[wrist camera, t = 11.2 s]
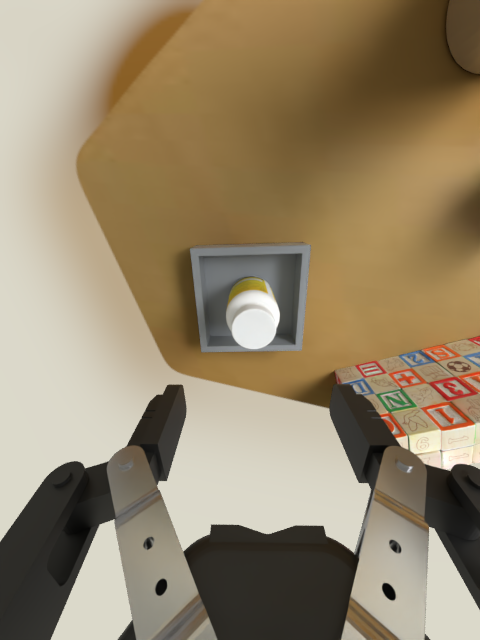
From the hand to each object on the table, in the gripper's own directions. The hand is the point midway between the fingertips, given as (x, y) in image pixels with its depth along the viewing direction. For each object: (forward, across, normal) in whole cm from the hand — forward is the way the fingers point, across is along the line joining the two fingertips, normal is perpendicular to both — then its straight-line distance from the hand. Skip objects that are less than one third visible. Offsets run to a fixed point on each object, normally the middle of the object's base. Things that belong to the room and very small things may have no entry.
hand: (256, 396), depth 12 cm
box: (+19, 0, 0) cm, 19 cm away
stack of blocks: (+19, -23, +12) cm, 33 cm away
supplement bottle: (+18, 0, 0) cm, 19 cm away
